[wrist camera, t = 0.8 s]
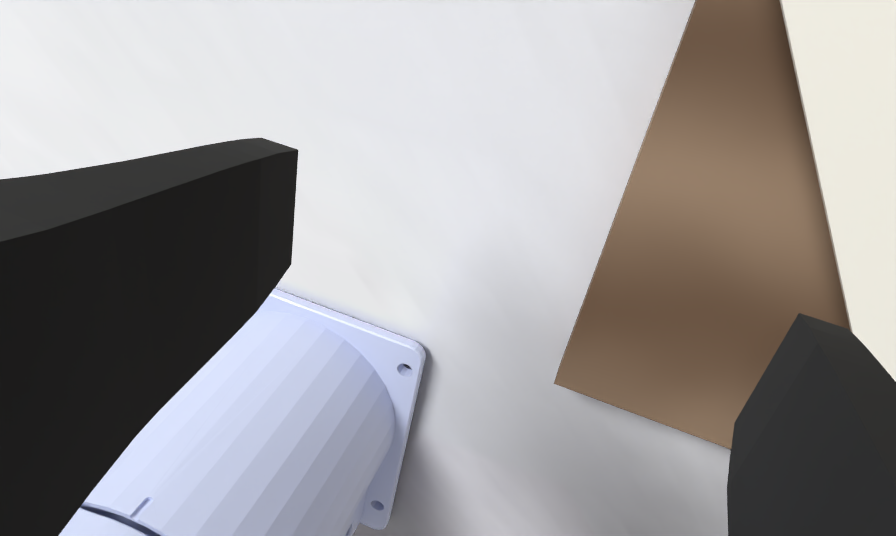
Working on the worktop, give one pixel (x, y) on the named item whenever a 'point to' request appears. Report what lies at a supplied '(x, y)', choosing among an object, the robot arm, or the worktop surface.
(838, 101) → the swing link
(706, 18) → the pivot board
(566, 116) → the worktop surface
